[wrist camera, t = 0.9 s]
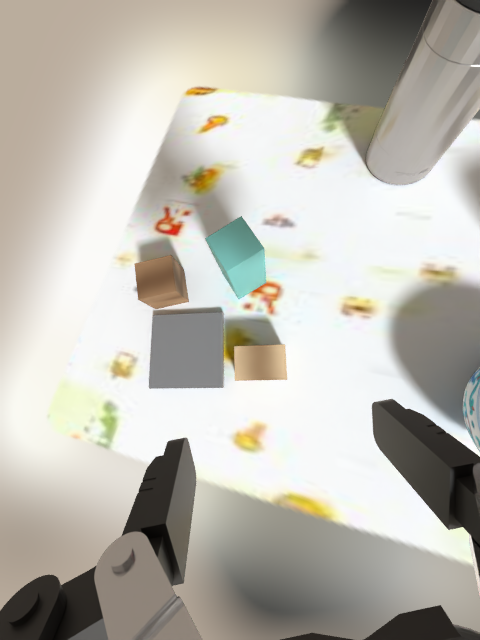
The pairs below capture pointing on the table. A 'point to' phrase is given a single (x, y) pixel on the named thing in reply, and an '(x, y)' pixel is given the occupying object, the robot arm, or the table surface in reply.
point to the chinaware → (473, 407)
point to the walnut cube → (161, 282)
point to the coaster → (187, 351)
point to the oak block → (260, 362)
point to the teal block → (239, 256)
